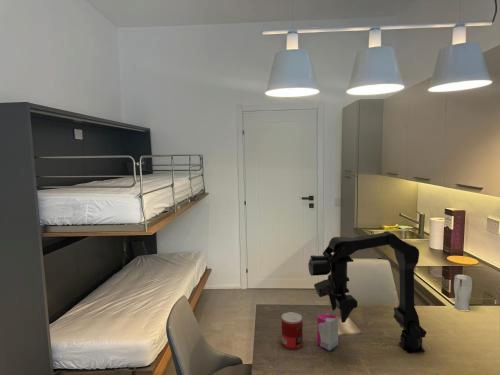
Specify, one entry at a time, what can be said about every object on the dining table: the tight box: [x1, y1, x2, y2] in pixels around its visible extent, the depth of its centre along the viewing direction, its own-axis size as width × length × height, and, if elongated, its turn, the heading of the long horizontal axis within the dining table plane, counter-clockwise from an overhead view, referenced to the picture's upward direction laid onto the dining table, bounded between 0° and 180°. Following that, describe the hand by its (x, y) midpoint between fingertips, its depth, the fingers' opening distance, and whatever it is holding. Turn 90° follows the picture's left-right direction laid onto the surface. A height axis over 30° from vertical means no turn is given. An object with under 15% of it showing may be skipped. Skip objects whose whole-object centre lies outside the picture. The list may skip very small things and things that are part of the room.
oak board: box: [338, 317, 362, 337], centre depth 141 cm, size 12×12×1 cm
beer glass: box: [453, 273, 473, 311], centre depth 154 cm, size 7×7×15 cm
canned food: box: [281, 312, 304, 350], centre depth 129 cm, size 8×8×11 cm
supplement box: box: [316, 312, 339, 352], centre depth 128 cm, size 6×6×12 cm
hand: (338, 315), depth 121 cm, fingers open, 9 cm apart
